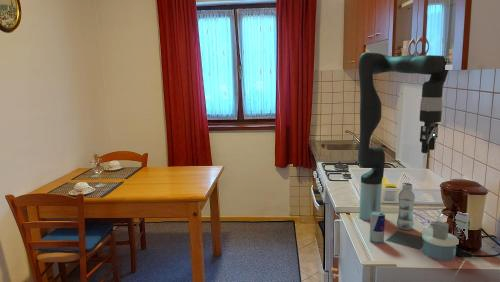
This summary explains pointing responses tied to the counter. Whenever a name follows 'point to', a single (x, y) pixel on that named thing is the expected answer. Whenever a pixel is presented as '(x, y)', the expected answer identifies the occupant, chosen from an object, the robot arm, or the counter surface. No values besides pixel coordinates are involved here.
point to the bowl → (439, 251)
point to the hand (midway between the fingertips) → (427, 151)
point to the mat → (406, 239)
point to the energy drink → (377, 227)
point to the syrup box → (463, 222)
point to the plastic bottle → (406, 207)
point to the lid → (440, 235)
